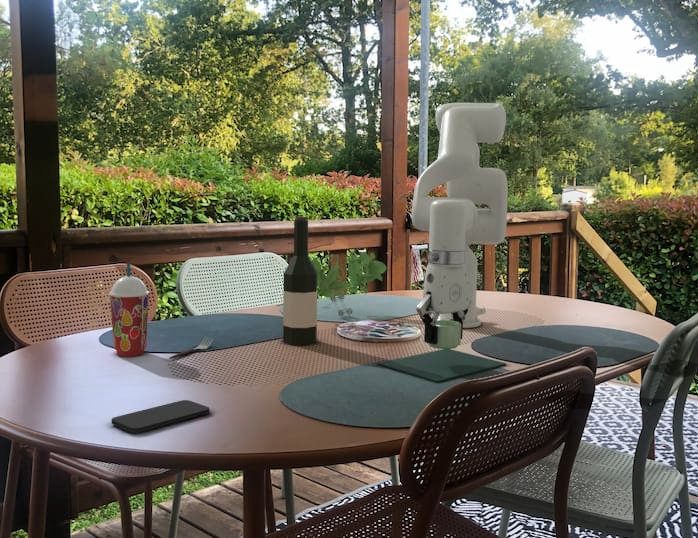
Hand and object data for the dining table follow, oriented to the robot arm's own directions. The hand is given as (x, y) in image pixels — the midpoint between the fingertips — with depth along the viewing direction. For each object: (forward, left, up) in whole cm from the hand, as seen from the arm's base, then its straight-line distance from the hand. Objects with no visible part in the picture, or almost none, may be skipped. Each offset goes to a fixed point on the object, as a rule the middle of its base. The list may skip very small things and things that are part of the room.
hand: (443, 340), depth 161 cm
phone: (+63, -5, -6) cm, 63 cm away
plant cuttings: (-16, -57, -6) cm, 60 cm away
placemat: (0, 0, -5) cm, 5 cm away
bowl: (0, 0, -1) cm, 1 cm away
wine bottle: (+11, -36, -6) cm, 38 cm away
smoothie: (+48, -49, -6) cm, 69 cm away
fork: (+37, -42, -6) cm, 56 cm away
